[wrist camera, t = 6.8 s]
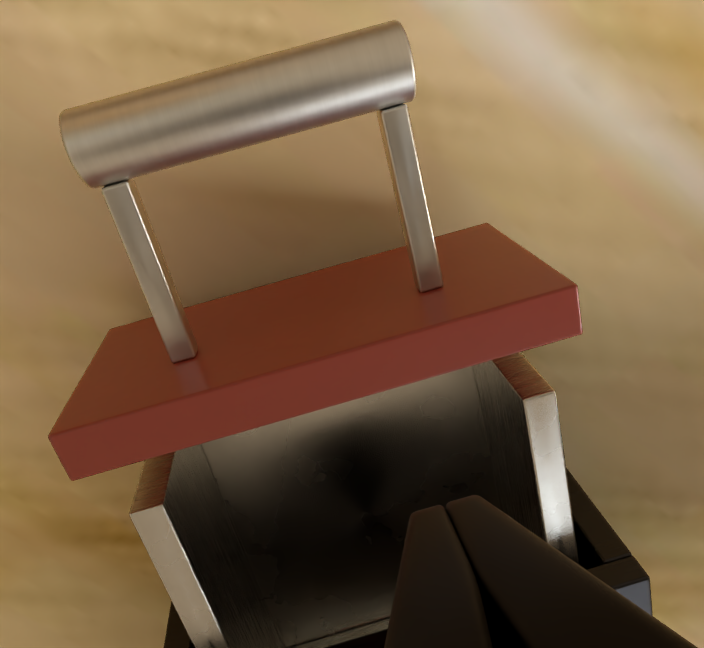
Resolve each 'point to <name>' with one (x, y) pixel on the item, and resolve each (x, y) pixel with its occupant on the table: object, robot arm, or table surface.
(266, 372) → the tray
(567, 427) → the table surface
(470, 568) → the robot arm
